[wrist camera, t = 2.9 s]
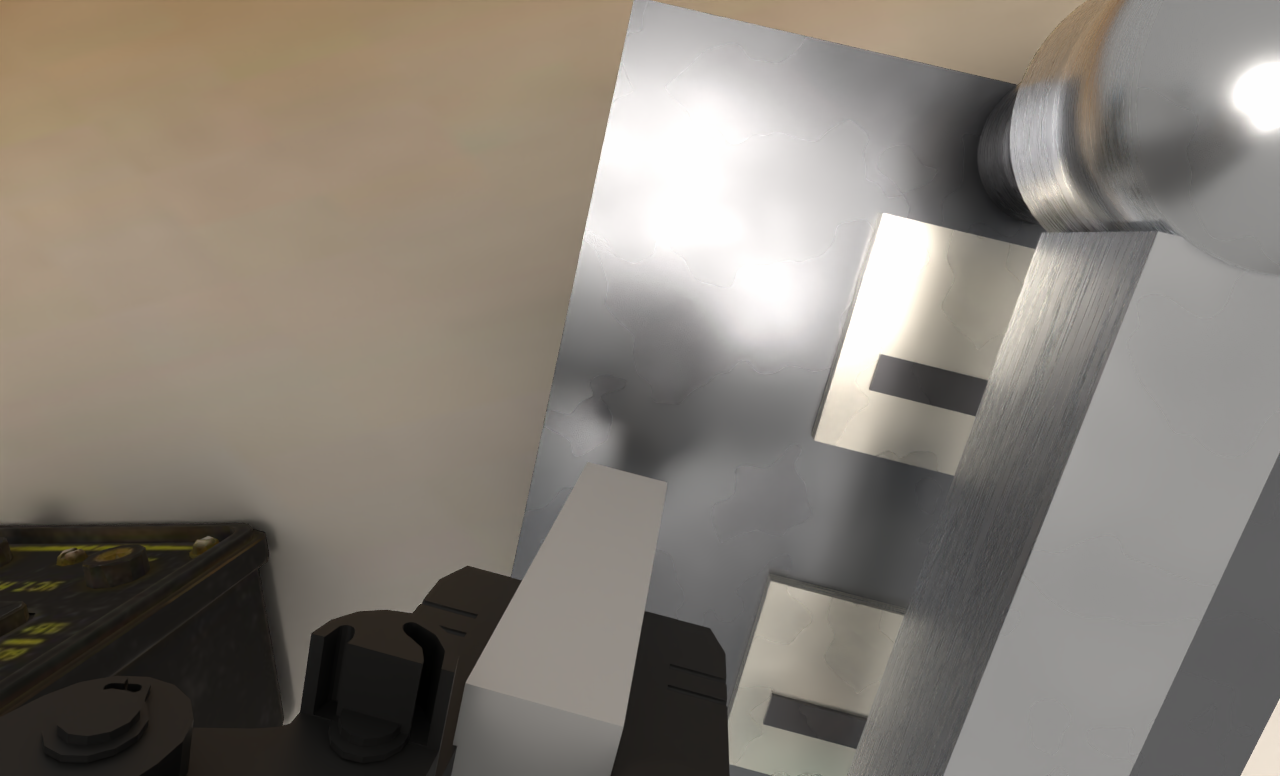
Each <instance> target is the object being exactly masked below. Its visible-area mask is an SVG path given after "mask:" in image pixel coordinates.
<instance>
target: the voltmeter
mask: <svg viewBox="0 0 1280 776" xmlns="http://www.w3.org/2000/svg"><path fill="white" fill-rule="evenodd" d="M268 557H269V550H268V545H267V540H266V535H265V533H264V532H261V531H257V530H252V528H251V526H250V525H249V524H246V523H221V524H136V525H51V526H0V717H1V716H3V715H5V714H7V713H9V712H11V711H13V710H15V709H18V708H20V707H22V706H24V705H26V704H28V703H30V702H32V701H34V700H36V699H38V698H40V697H42V696H44V695H47V694H49V693H52V692H54V691H57V690H60V689H62V688H65V687H68V686H70V685H73V684H76V683H78V682H83V681H89V680H94V679H100V678H106V677H112V676H139V677H151V678H154V679H157V680H161V681H164V682H167V683H170V684H173V685H175V686H176V687H177V688H179V689H180V690H181V691H182V692H183V693H184V694H185V695H186V696H187V697H188V698H189V699H190V700H191V706H192V712H193V718H194V721H193V728H246V729H253V728H269V727H279V726H282V725H283V720H284V715H283V709H282V703H281V697H280V691H279V685H278V679H277V674H276V668H275V662H274V656H273V650H272V644H271V638H270V633H269V627H268V621H267V615H266V609H265V603H264V597H263V591H262V586H261V580H260V574H259V567H260V566H262V565H263V564H264V563H266V562H267V561H268Z"/></svg>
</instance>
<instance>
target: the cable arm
mask: <svg viewBox="0 0 1280 776" xmlns="http://www.w3.org/2000/svg"><path fill="white" fill-rule="evenodd" d="M1010 154H1011V162H1012V168H1013V172H1014V176H1015V180H1016V183H1017V186H1018V188H1019V191H1020V193H1021V195H1022V198H1023V200H1024V202H1025V203H1026V205H1027V207H1028V208H1029V210H1030V212H1031V213H1032V215H1033V216H1034V217H1035V219H1036V220H1037V221H1038V222H1039V223H1040V225H1041V226H1042V227H1043V228H1044V229H1045V230H1046V231H1047V232H1048V233H1041V235H1040V238H1039V241H1038V243H1037V246H1036V249H1035V252H1034V254H1033V257H1032V260H1031V263H1030V266H1029V268H1028V271H1027V274H1026V277H1025V280H1024V282H1023V285H1022V288H1021V291H1020V294H1019V296H1018V299H1017V302H1016V305H1015V308H1014V310H1013V313H1012V316H1011V319H1010V322H1009V324H1008V327H1007V330H1006V333H1005V336H1004V338H1003V341H1002V344H1001V347H1000V349H999V352H998V355H997V358H996V361H995V363H994V366H993V369H992V372H991V375H990V377H989V380H988V383H987V386H986V389H985V391H984V394H983V397H982V400H981V403H980V405H979V408H978V411H977V414H976V417H975V419H974V422H973V425H972V428H971V431H970V433H969V436H968V439H967V442H966V444H965V447H964V450H963V453H962V456H961V458H960V461H959V464H958V467H957V470H956V472H955V475H954V478H953V481H952V484H951V486H950V489H949V492H948V495H947V498H946V500H945V503H944V506H943V509H942V512H941V514H940V517H939V520H938V523H937V526H936V528H935V531H934V534H933V537H932V539H931V542H930V545H929V548H928V551H927V553H926V556H925V559H924V562H923V565H922V567H921V570H920V573H919V576H918V579H917V581H916V584H915V587H914V590H913V593H912V595H911V598H910V601H909V604H908V607H907V609H906V612H905V615H904V618H903V621H902V623H901V626H900V629H899V632H898V634H897V637H896V640H895V643H894V646H893V648H892V651H891V654H890V657H889V660H888V662H887V665H886V668H885V671H884V674H883V676H882V679H881V682H880V685H879V688H878V690H877V693H876V696H875V699H874V702H873V704H872V707H871V710H870V713H869V716H868V718H867V721H866V724H865V727H864V729H863V732H862V735H861V738H860V741H859V743H858V746H857V749H856V752H855V755H854V757H853V760H852V763H851V766H850V769H849V771H848V774H847V776H1129V775H1130V773H1131V770H1132V768H1133V766H1134V764H1135V762H1136V760H1137V758H1138V755H1139V753H1140V751H1141V749H1142V747H1143V745H1144V743H1145V740H1146V738H1147V736H1148V734H1149V732H1150V730H1151V728H1152V725H1153V723H1154V721H1155V719H1156V717H1157V715H1158V713H1159V710H1160V708H1161V706H1162V704H1163V702H1164V700H1165V698H1166V695H1167V693H1168V691H1169V689H1170V687H1171V685H1172V682H1173V680H1174V678H1175V676H1176V674H1177V672H1178V670H1179V667H1180V665H1181V663H1182V661H1183V659H1184V657H1185V655H1186V652H1187V650H1188V648H1189V646H1190V644H1191V642H1192V640H1193V637H1194V635H1195V633H1196V631H1197V629H1198V627H1199V625H1200V622H1201V620H1202V618H1203V616H1204V614H1205V612H1206V610H1207V607H1208V605H1209V603H1210V601H1211V599H1212V597H1213V595H1214V592H1215V590H1216V588H1217V586H1218V584H1219V582H1220V580H1221V577H1222V575H1223V573H1224V571H1225V569H1226V567H1227V565H1228V562H1229V560H1230V558H1231V556H1232V554H1233V552H1234V550H1235V547H1236V545H1237V543H1238V541H1239V539H1240V537H1241V534H1242V532H1243V530H1244V528H1245V526H1246V524H1247V522H1248V519H1249V517H1250V515H1251V513H1252V511H1253V509H1254V507H1255V504H1256V502H1257V500H1258V498H1259V496H1260V494H1261V492H1262V489H1263V487H1264V485H1265V483H1266V481H1267V479H1268V477H1269V474H1270V472H1271V470H1272V468H1273V466H1274V464H1275V462H1276V459H1277V457H1278V455H1279V453H1280V0H1087V1H1086V2H1084V3H1083V4H1082V5H1080V6H1079V7H1077V8H1076V9H1075V10H1074V11H1073V12H1072V13H1071V14H1070V15H1068V16H1067V17H1066V18H1065V19H1064V20H1063V21H1062V22H1061V23H1060V24H1059V25H1058V26H1057V27H1056V28H1055V30H1054V31H1053V32H1052V33H1051V34H1050V35H1049V36H1048V37H1047V39H1046V40H1045V42H1044V43H1043V44H1042V46H1041V47H1040V49H1039V50H1038V52H1037V53H1036V54H1035V56H1034V58H1033V60H1032V62H1031V63H1030V65H1029V67H1028V69H1027V71H1026V73H1025V75H1024V78H1023V80H1022V82H1021V85H1020V87H1019V90H1018V93H1017V97H1016V100H1015V104H1014V108H1013V112H1012V119H1011V126H1010Z"/></svg>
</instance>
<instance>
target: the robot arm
mask: <svg viewBox="0 0 1280 776" xmlns="http://www.w3.org/2000/svg"><path fill="white" fill-rule="evenodd" d="M666 489H667V482H664V481H660V480H656V479H652V478H648V477H644V476H641V475H637V474H633V473H629V472H625V471H621V470H617V469H614V468H610V467H606V466H602V465H598V464H594V463H590V462H587V464H586V466H585V468H584V470H583V472H582V473H581V475H580V477H579V479H578V481H577V482H576V484H575V486H574V488H573V490H572V491H571V493H570V495H569V497H568V499H567V500H566V502H565V504H564V506H563V508H562V509H561V511H560V513H559V515H558V517H557V518H556V520H555V522H554V524H553V526H552V527H551V529H550V531H549V533H548V535H547V537H546V538H545V540H544V542H543V544H542V546H541V547H540V549H539V551H538V553H537V555H536V556H535V558H534V560H533V562H532V564H531V565H530V567H529V569H528V571H527V573H526V574H525V576H524V578H523V580H518V579H515V578H511V577H507V576H503V575H500V574H496V573H492V572H489V571H485V570H481V569H477V568H474V567H470V566H466V567H464V568H462V569H460V570H458V571H456V572H454V573H452V574H450V575H448V576H446V577H444V578H441V579H440V580H439V581H438V582H437V583H436V585H435V586H434V587H433V588H432V590H431V591H430V592H429V594H428V595H427V596H426V597H425V599H424V600H423V603H422V604H420V605H419V606H418V607H417V609H416V610H415V611H414V612H413V614H412V613H405V612H398V611H392V610H375V611H360V612H355V613H352V614H349V615H345V616H342V617H339V618H336V619H332V620H331V621H329V622H328V623H326V624H325V625H323V626H322V627H320V628H319V629H317V630H316V631H314V632H313V633H312V634H311V640H310V647H309V654H308V661H307V668H306V675H305V682H304V689H303V696H302V703H301V710H300V713H299V714H298V715H297V716H296V718H295V719H294V720H293V721H292V722H291V723H290V724H288V725H283V726H279V727H269V728H253V729H246V728H193V721H194V718H193V712H192V706H191V700H190V699H189V698H188V697H187V696H186V695H185V694H184V693H183V692H182V691H181V690H180V689H179V688H177V687H176V686H175V685H173V684H170V683H167V682H164V681H161V680H157V679H154V678H151V677H139V676H112V677H106V678H100V679H94V680H89V681H83V682H78V683H76V684H73V685H70V686H68V687H65V688H62V689H60V690H57V691H54V692H52V693H49V694H47V695H44V696H42V697H40V698H38V699H36V700H34V701H32V702H30V703H28V704H26V705H24V706H22V707H20V708H18V709H15V710H13V711H11V712H9V713H7V714H5V715H3V716H1V717H0V776H730V770H729V740H728V710H727V706H726V704H727V684H726V653H725V652H724V650H723V648H722V647H721V645H720V643H719V642H718V640H717V639H716V637H715V635H714V634H713V632H712V630H711V629H710V628H707V627H704V626H700V625H696V624H692V623H689V622H685V621H681V620H677V619H674V618H670V617H666V616H663V615H659V614H655V613H651V612H648V611H645V605H646V600H647V594H648V589H649V583H650V578H651V572H652V566H653V561H654V555H655V550H656V544H657V539H658V533H659V528H660V522H661V517H662V511H663V505H664V500H665V494H666Z"/></svg>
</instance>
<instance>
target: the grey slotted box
mask: <svg viewBox="0 0 1280 776" xmlns="http://www.w3.org/2000/svg"><path fill="white" fill-rule="evenodd" d="M1020 85H1021V83H1020V84H1018V85H1016V84H1011V83H1007V82H1003V81H998V80H994V79H990V78H985V77H981V76H977V75H972V74H968V73H964V72H959V71H955V70H951V69H946V68H942V67H938V66H933V65H929V64H924V63H920V62H916V61H911V60H907V59H903V58H898V57H894V56H890V55H885V54H881V53H877V52H872V51H868V50H864V49H859V48H855V47H851V46H846V45H842V44H838V43H833V42H829V41H825V40H820V39H816V38H812V37H807V36H803V35H799V34H794V33H790V32H786V31H781V30H777V29H773V28H768V27H764V26H760V25H755V24H751V23H747V22H742V21H738V20H734V19H729V18H725V17H721V16H716V15H712V14H708V13H703V12H699V11H695V10H690V9H686V8H682V7H677V6H673V5H669V4H664V3H660V2H656V1H651V0H634V1H633V6H632V10H631V15H630V20H629V25H628V29H627V34H626V39H625V43H624V48H623V53H622V58H621V62H620V67H619V72H618V76H617V81H616V86H615V90H614V95H613V100H612V105H611V109H610V114H609V119H608V123H607V128H606V133H605V137H604V142H603V147H602V152H601V156H600V161H599V166H598V170H597V175H596V180H595V184H594V189H593V194H592V199H591V203H590V208H589V213H588V217H587V222H586V227H585V232H584V236H583V241H582V246H581V250H580V255H579V260H578V264H577V269H576V274H575V279H574V283H573V288H572V293H571V297H570V302H569V307H568V311H567V316H566V321H565V326H564V330H563V335H562V340H561V344H560V349H559V354H558V358H557V363H556V368H555V373H554V377H553V382H552V387H551V391H550V396H549V401H548V405H547V410H546V415H545V420H544V424H543V429H542V434H541V438H540V443H539V448H538V453H537V457H536V462H535V467H534V471H533V476H532V481H531V485H530V490H529V495H528V500H527V504H526V509H525V514H524V518H523V523H522V528H521V532H520V537H519V542H518V547H517V551H516V556H515V561H514V565H513V570H512V575H511V578H515V579H518V580H523V578H524V576H525V574H526V573H527V571H528V569H529V567H530V565H531V564H532V562H533V560H534V558H535V556H536V555H537V553H538V551H539V549H540V547H541V546H542V544H543V542H544V540H545V538H546V537H547V535H548V533H549V531H550V529H551V527H552V526H553V524H554V522H555V520H556V518H557V517H558V515H559V513H560V511H561V509H562V508H563V506H564V504H565V502H566V500H567V499H568V497H569V495H570V493H571V491H572V490H573V488H574V486H575V484H576V482H577V481H578V479H579V477H580V475H581V473H582V472H583V470H584V468H585V466H586V464H587V462H590V463H594V464H598V465H602V466H606V467H610V468H614V469H617V470H621V471H625V472H629V473H633V474H637V475H641V476H644V477H648V478H652V479H656V480H660V481H664V482H667V489H666V494H665V500H664V505H663V511H662V517H661V522H660V528H659V533H658V539H657V544H656V550H655V555H654V561H653V566H652V572H651V578H650V583H649V589H648V594H647V600H646V605H645V611H648V612H651V613H655V614H659V615H663V616H666V617H670V618H674V619H677V620H681V621H685V622H689V623H692V624H696V625H700V626H704V627H707V628H710V629H711V630H712V632H713V634H714V635H715V637H716V639H717V640H718V642H719V643H720V645H721V647H722V648H723V650H724V652H725V653H726V684H727V704H726V706H727V710H728V740H729V770H730V776H847V774H848V771H849V769H850V766H851V763H852V760H853V757H854V755H855V752H856V749H857V746H858V743H859V741H860V738H861V735H862V732H863V729H864V727H865V724H866V721H867V718H868V716H869V713H870V710H871V707H872V704H873V702H874V699H875V696H876V693H877V690H878V688H879V685H880V682H881V679H882V676H883V674H884V671H885V668H886V665H887V662H888V660H889V657H890V654H891V651H892V648H893V646H894V643H895V640H896V637H897V634H898V632H899V629H900V626H901V623H902V621H903V618H904V615H905V612H906V609H907V607H908V604H909V601H910V598H911V595H912V593H913V590H914V587H915V584H916V581H917V579H918V576H919V573H920V570H921V567H922V565H923V562H924V559H925V556H926V553H927V551H928V548H929V545H930V542H931V539H932V537H933V534H934V531H935V528H936V526H937V523H938V520H939V517H940V514H941V512H942V509H943V506H944V503H945V500H946V498H947V495H948V492H949V489H950V486H951V484H952V481H953V478H954V475H955V472H956V470H957V467H958V464H959V461H960V458H961V456H962V453H963V450H964V447H965V444H966V442H967V439H968V436H969V433H970V431H971V428H972V425H973V422H974V419H975V417H976V414H977V411H978V408H979V405H980V403H981V400H982V397H983V394H984V391H985V389H986V386H987V383H988V380H989V377H990V375H991V372H992V369H993V366H994V363H995V361H996V358H997V355H998V352H999V349H1000V347H1001V344H1002V341H1003V338H1004V336H1005V333H1006V330H1007V327H1008V324H1009V322H1010V319H1011V316H1012V313H1013V310H1014V308H1015V305H1016V302H1017V299H1018V296H1019V294H1020V291H1021V288H1022V285H1023V282H1024V280H1025V277H1026V274H1027V271H1028V268H1029V266H1030V263H1031V260H1032V257H1033V254H1034V252H1035V249H1036V246H1037V243H1038V241H1039V238H1040V235H1041V233H1048V232H1047V231H1046V230H1045V229H1044V228H1043V227H1042V226H1041V225H1040V223H1039V222H1038V221H1037V220H1036V219H1035V217H1034V216H1033V215H1032V213H1031V212H1030V210H1029V208H1028V207H1027V205H1026V203H1025V202H1024V200H1023V198H1022V195H1021V193H1020V191H1019V188H1018V186H1017V183H1016V180H1015V176H1014V172H1013V168H1012V162H1011V154H1010V126H1011V119H1012V112H1013V108H1014V104H1015V100H1016V97H1017V93H1018V90H1019V87H1020ZM1279 699H1280V453H1279V455H1278V457H1277V459H1276V462H1275V464H1274V466H1273V468H1272V470H1271V472H1270V474H1269V477H1268V479H1267V481H1266V483H1265V485H1264V487H1263V489H1262V492H1261V494H1260V496H1259V498H1258V500H1257V502H1256V504H1255V507H1254V509H1253V511H1252V513H1251V515H1250V517H1249V519H1248V522H1247V524H1246V526H1245V528H1244V530H1243V532H1242V534H1241V537H1240V539H1239V541H1238V543H1237V545H1236V547H1235V550H1234V552H1233V554H1232V556H1231V558H1230V560H1229V562H1228V565H1227V567H1226V569H1225V571H1224V573H1223V575H1222V577H1221V580H1220V582H1219V584H1218V586H1217V588H1216V590H1215V592H1214V595H1213V597H1212V599H1211V601H1210V603H1209V605H1208V607H1207V610H1206V612H1205V614H1204V616H1203V618H1202V620H1201V622H1200V625H1199V627H1198V629H1197V631H1196V633H1195V635H1194V637H1193V640H1192V642H1191V644H1190V646H1189V648H1188V650H1187V652H1186V655H1185V657H1184V659H1183V661H1182V663H1181V665H1180V667H1179V670H1178V672H1177V674H1176V676H1175V678H1174V680H1173V682H1172V685H1171V687H1170V689H1169V691H1168V693H1167V695H1166V698H1165V700H1164V702H1163V704H1162V706H1161V708H1160V710H1159V713H1158V715H1157V717H1156V719H1155V721H1154V723H1153V725H1152V728H1151V730H1150V732H1149V734H1148V736H1147V738H1146V740H1145V743H1144V745H1143V747H1142V749H1141V751H1140V753H1139V755H1138V758H1137V760H1136V762H1135V764H1134V766H1133V768H1132V770H1131V773H1130V775H1129V776H1240V775H1241V773H1242V771H1243V769H1244V767H1245V765H1246V764H1247V762H1248V760H1249V758H1250V756H1251V754H1252V752H1253V750H1254V748H1255V746H1256V744H1257V742H1258V740H1259V738H1260V736H1261V734H1262V732H1263V730H1264V728H1265V726H1266V724H1267V722H1268V720H1269V718H1270V716H1271V714H1272V712H1273V710H1274V708H1275V707H1276V705H1277V703H1278V701H1279Z"/></svg>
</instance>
